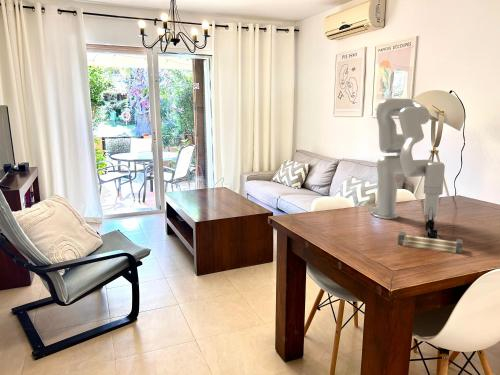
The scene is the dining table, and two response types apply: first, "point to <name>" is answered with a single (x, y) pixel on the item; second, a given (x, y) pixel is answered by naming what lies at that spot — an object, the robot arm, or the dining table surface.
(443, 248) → the striped bar with caps
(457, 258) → the dining table surface
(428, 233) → the black block
